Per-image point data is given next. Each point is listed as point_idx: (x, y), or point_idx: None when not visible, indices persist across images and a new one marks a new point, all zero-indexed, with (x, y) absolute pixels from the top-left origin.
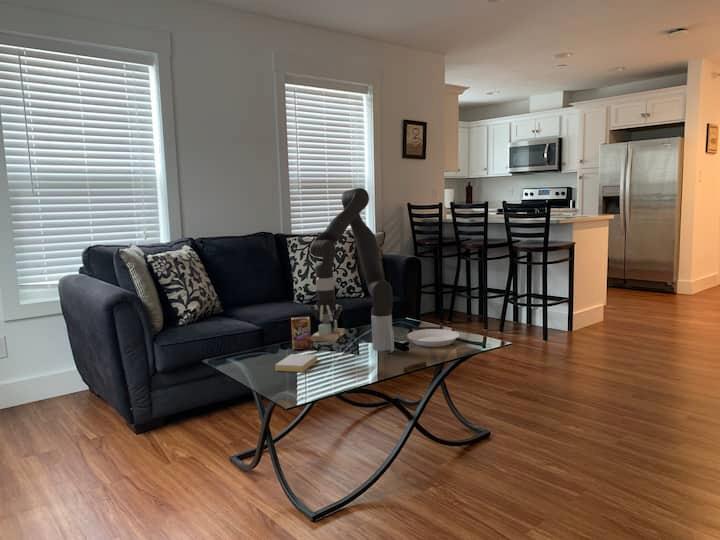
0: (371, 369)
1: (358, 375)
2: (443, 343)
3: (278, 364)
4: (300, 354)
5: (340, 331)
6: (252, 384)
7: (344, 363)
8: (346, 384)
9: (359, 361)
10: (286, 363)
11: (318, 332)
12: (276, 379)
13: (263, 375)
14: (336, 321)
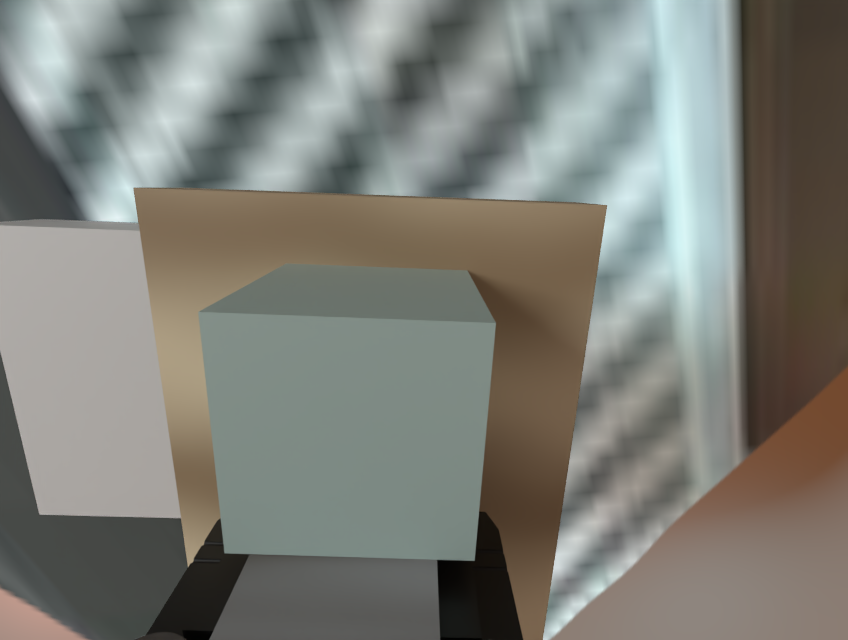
0: (698, 318)
1: (623, 442)
2: None
3: (60, 509)
4: (69, 230)
5: (567, 432)
6: (71, 629)
7: (472, 189)
8: (579, 581)
9: (584, 119)
10: (105, 483)
11: (212, 496)
12: (153, 551)
13: (27, 498)
14: (487, 340)
